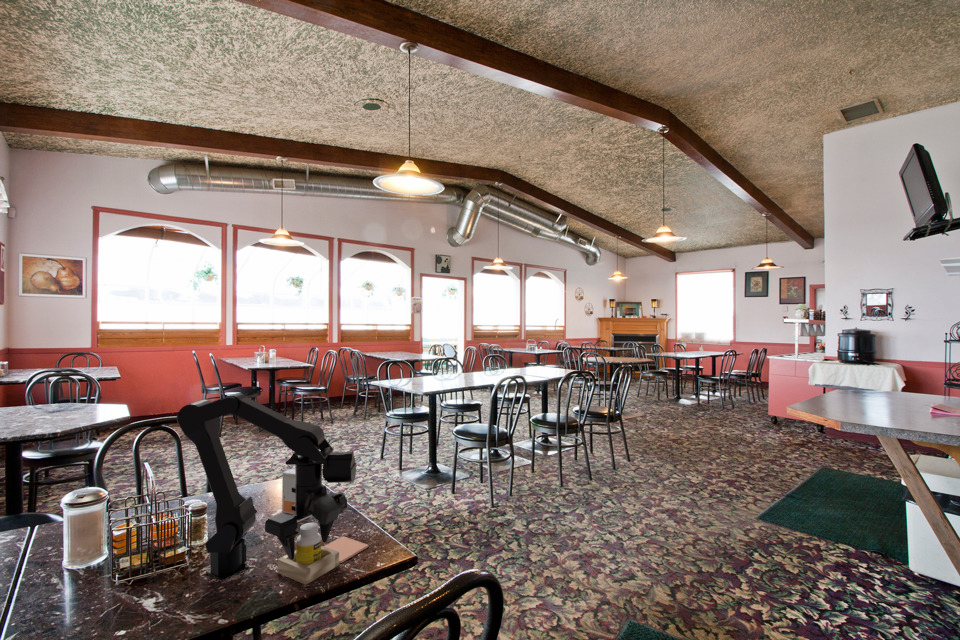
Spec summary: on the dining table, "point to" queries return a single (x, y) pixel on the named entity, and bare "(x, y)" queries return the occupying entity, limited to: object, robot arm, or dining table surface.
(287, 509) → the skincare box
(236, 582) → the dining table surface
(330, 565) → the pocket block
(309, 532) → the supplement bottle
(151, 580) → the dining table surface
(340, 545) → the tile
